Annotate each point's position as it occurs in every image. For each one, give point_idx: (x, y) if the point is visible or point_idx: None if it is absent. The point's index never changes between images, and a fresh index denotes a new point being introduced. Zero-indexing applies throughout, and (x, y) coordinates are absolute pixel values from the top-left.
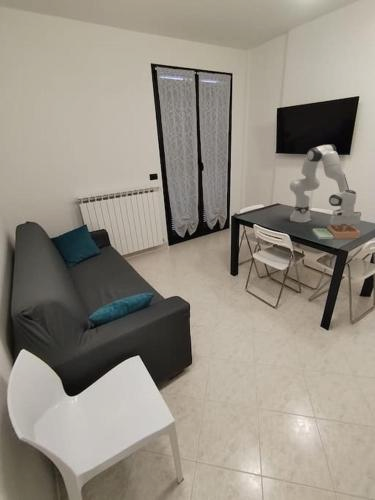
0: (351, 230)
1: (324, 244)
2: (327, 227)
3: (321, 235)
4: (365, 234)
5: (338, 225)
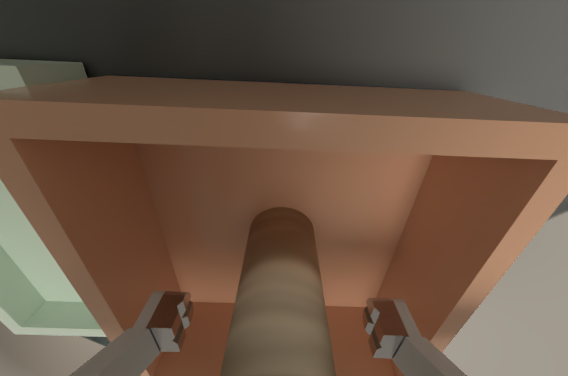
0: (437, 215)
1: (104, 340)
2: (25, 87)
3: (41, 244)
4: (560, 203)
5: (256, 146)
